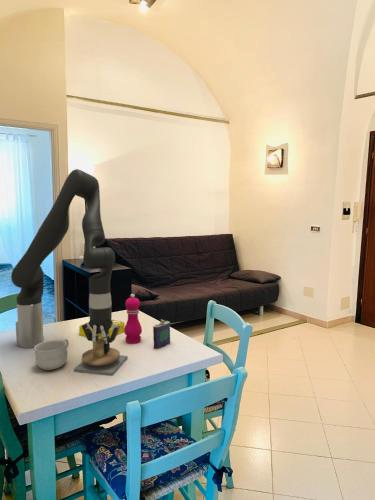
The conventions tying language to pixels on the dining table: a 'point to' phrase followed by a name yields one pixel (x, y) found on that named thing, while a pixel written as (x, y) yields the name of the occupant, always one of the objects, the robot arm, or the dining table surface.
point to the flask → (161, 334)
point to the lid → (100, 354)
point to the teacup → (51, 354)
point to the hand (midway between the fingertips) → (101, 352)
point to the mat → (101, 367)
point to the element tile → (121, 329)
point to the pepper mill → (132, 321)
